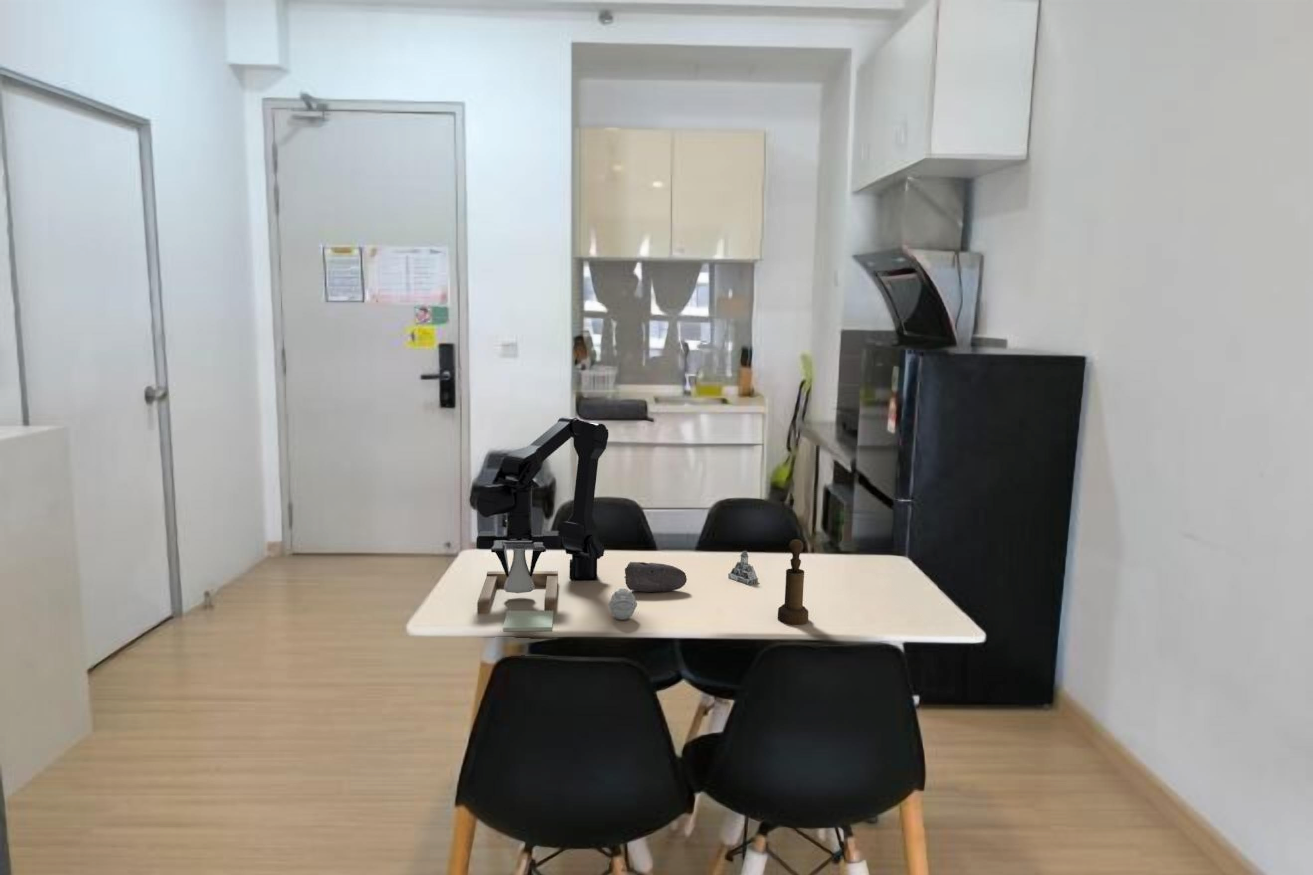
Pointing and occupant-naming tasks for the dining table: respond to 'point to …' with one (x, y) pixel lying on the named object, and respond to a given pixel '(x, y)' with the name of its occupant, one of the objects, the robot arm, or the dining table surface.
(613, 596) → the frog figurine
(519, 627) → the pad
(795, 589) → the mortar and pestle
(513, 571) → the flask
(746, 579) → the grey temple model
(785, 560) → the dining table surface
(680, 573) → the perforated stone tool
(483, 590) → the frame
